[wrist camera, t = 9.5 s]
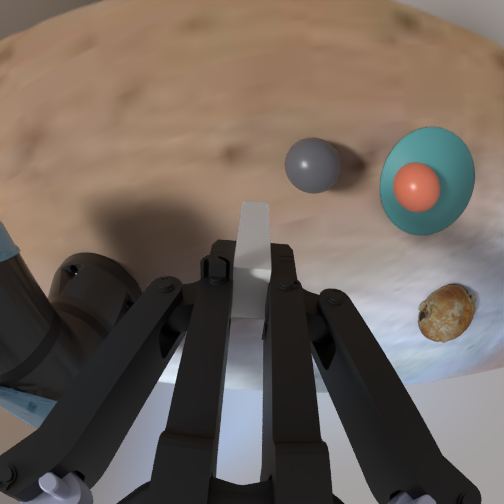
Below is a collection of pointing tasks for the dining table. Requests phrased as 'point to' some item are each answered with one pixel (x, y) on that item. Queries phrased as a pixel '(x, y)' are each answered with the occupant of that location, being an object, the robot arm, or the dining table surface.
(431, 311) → the bread roll
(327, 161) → the gray ball
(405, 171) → the red ball
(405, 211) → the teal mark
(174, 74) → the dining table surface
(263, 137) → the dining table surface
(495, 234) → the dining table surface
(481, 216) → the dining table surface
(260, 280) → the robot arm
